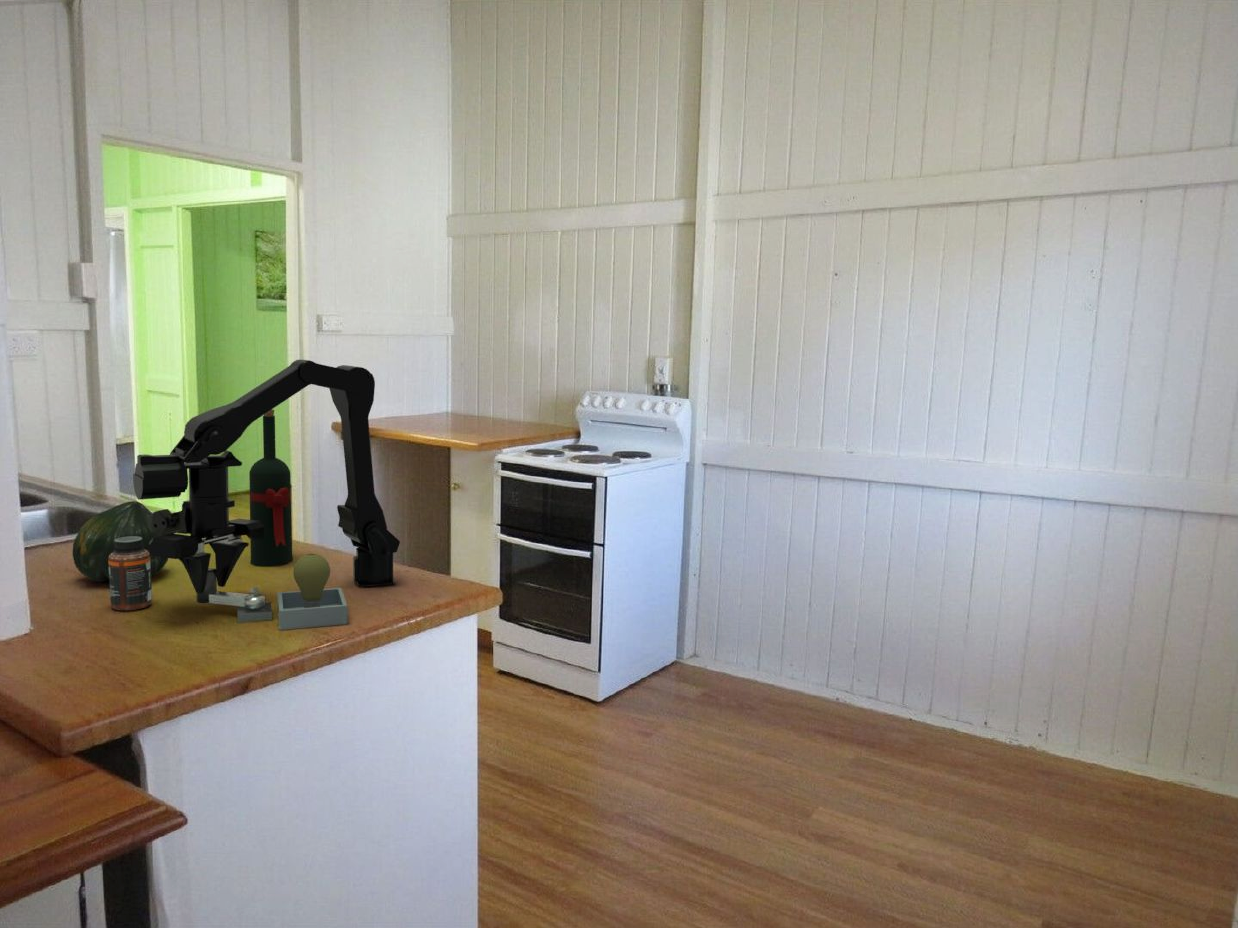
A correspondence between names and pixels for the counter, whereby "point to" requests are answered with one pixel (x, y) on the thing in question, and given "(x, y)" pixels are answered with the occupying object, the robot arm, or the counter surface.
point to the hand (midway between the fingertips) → (210, 589)
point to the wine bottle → (271, 503)
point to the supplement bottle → (130, 575)
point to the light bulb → (311, 578)
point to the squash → (113, 538)
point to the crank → (227, 595)
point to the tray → (311, 610)
